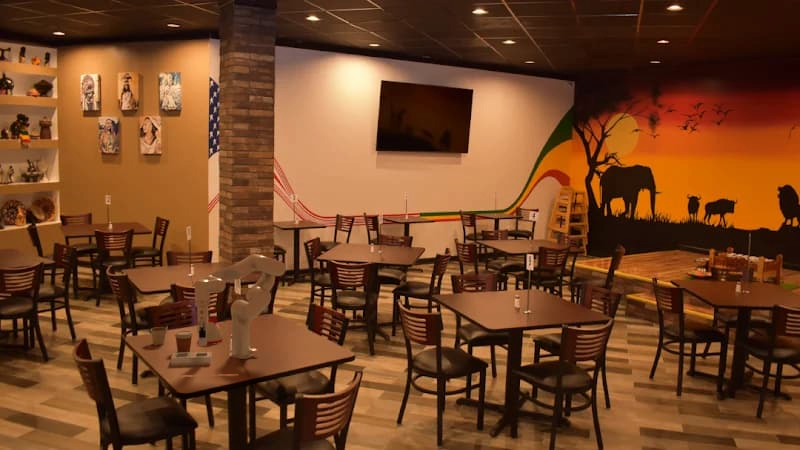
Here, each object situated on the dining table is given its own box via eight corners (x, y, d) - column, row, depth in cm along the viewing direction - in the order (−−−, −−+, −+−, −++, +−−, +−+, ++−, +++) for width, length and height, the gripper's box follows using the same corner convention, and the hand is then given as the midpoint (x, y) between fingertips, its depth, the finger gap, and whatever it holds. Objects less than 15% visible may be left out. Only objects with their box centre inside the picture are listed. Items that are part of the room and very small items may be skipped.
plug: (206, 343, 365) (206, 325, 364) (206, 345, 361) (206, 327, 360) (198, 343, 364) (197, 325, 363) (197, 346, 360) (197, 327, 359)
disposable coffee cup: (174, 356, 373) (174, 335, 372) (175, 351, 383) (175, 330, 381) (192, 355, 376) (192, 334, 375) (192, 350, 385) (193, 330, 384)
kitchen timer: (218, 344, 399) (219, 319, 398) (195, 343, 399) (195, 318, 398) (225, 338, 413) (225, 314, 411) (202, 337, 413) (203, 313, 412)
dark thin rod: (206, 366, 359) (206, 364, 358) (206, 367, 358) (206, 365, 358) (177, 369, 353) (177, 367, 353) (177, 369, 352) (177, 367, 352)
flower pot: (170, 341, 400) (170, 327, 400) (162, 346, 391) (162, 331, 390) (154, 340, 401) (154, 326, 400) (147, 345, 392) (147, 330, 391)
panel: (211, 360, 369) (211, 351, 368) (210, 366, 359) (210, 357, 359) (173, 361, 365) (173, 352, 364) (171, 367, 355) (171, 358, 355)
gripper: (208, 306, 352) (209, 340, 355) (210, 298, 368) (211, 331, 371) (193, 306, 351) (194, 341, 353) (196, 299, 367) (196, 332, 369)
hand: (202, 336), depth 362 cm, fingers closed on plug, 4 cm apart
